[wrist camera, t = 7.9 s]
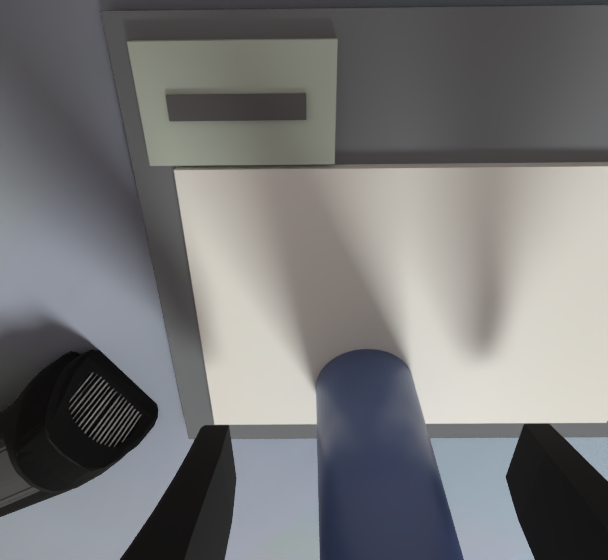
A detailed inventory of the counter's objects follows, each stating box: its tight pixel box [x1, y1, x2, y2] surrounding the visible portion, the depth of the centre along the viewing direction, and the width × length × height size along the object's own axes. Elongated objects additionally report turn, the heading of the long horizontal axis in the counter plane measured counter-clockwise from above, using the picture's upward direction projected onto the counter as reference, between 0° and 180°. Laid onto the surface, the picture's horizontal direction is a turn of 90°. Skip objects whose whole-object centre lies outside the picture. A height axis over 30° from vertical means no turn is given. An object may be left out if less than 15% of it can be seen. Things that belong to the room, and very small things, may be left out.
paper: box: [174, 162, 608, 425], centre depth 12 cm, size 12×8×1 cm, turn 91°
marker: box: [316, 349, 464, 560], centre depth 10 cm, size 3×3×7 cm
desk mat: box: [100, 5, 608, 439], centre depth 12 cm, size 16×12×1 cm
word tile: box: [127, 38, 338, 166], centre depth 9 cm, size 4×2×1 cm, turn 90°
